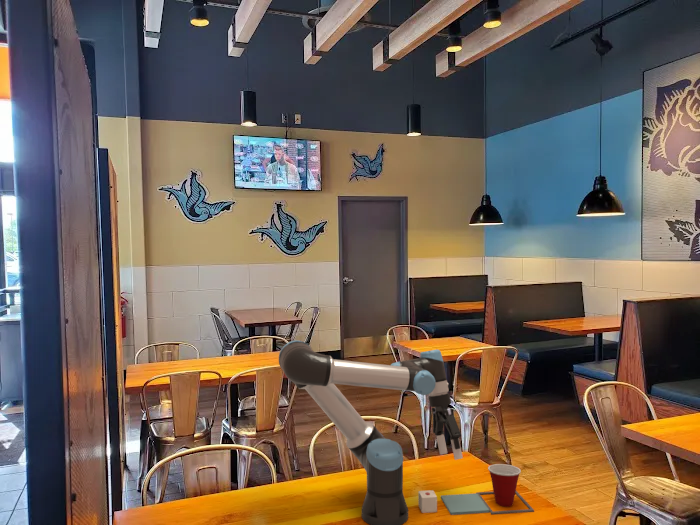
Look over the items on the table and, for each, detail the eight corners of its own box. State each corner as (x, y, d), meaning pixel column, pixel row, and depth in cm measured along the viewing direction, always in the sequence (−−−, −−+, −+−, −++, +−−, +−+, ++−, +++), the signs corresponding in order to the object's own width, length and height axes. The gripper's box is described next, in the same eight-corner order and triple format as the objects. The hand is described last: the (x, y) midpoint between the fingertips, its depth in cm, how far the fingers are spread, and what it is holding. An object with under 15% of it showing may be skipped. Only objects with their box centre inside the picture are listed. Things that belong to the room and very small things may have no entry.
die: (422, 512, 179) (422, 497, 179) (418, 505, 184) (418, 490, 184) (436, 511, 180) (436, 496, 180) (432, 504, 185) (432, 489, 185)
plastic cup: (517, 495, 191) (517, 462, 190) (523, 511, 180) (524, 475, 180) (485, 494, 192) (485, 461, 192) (490, 509, 181) (490, 474, 181)
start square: (491, 514, 178) (491, 512, 178) (476, 493, 193) (476, 492, 192) (534, 511, 180) (534, 510, 180) (515, 491, 194) (515, 490, 194)
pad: (450, 514, 178) (450, 512, 178) (440, 497, 190) (440, 495, 190) (489, 512, 179) (489, 510, 179) (476, 495, 191) (476, 493, 191)
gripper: (462, 392, 181) (476, 458, 177) (436, 391, 205) (447, 449, 201) (441, 396, 179) (454, 463, 176) (417, 395, 203) (428, 454, 199)
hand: (450, 456), depth 188 cm, fingers open, 13 cm apart
